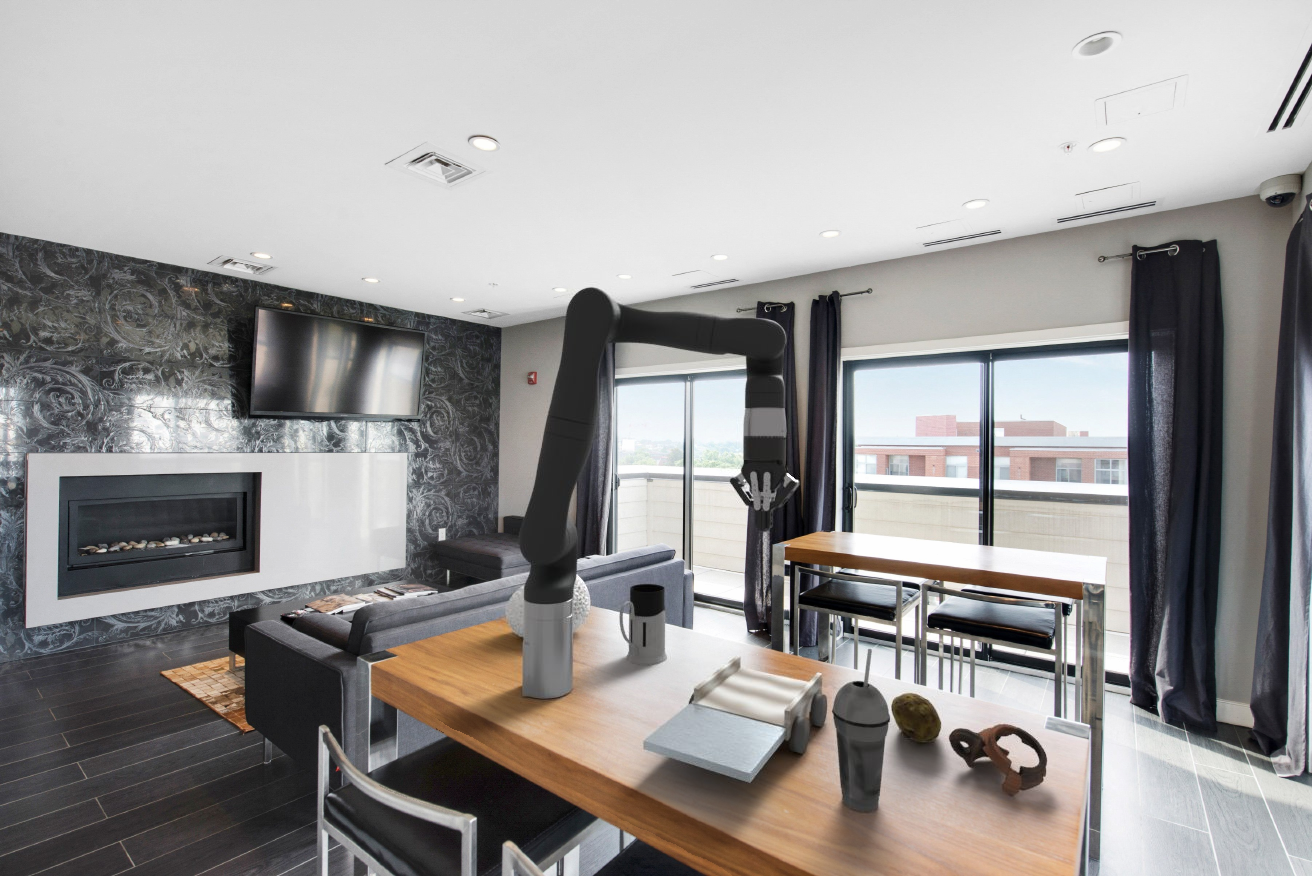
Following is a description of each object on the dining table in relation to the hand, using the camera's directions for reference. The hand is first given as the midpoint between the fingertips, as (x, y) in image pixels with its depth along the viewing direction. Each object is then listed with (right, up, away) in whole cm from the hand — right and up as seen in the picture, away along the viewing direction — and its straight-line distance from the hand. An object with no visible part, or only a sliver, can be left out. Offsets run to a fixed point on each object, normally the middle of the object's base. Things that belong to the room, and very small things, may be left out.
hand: (763, 530), depth 109 cm
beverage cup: (+8, -31, -29) cm, 43 cm away
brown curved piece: (+29, -32, -23) cm, 48 cm away
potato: (+22, -31, -12) cm, 40 cm away
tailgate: (-7, -26, -15) cm, 31 cm away
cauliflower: (-44, -31, +37) cm, 65 cm away
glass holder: (-23, -31, +21) cm, 44 cm away
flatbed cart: (-2, -31, -7) cm, 32 cm away
